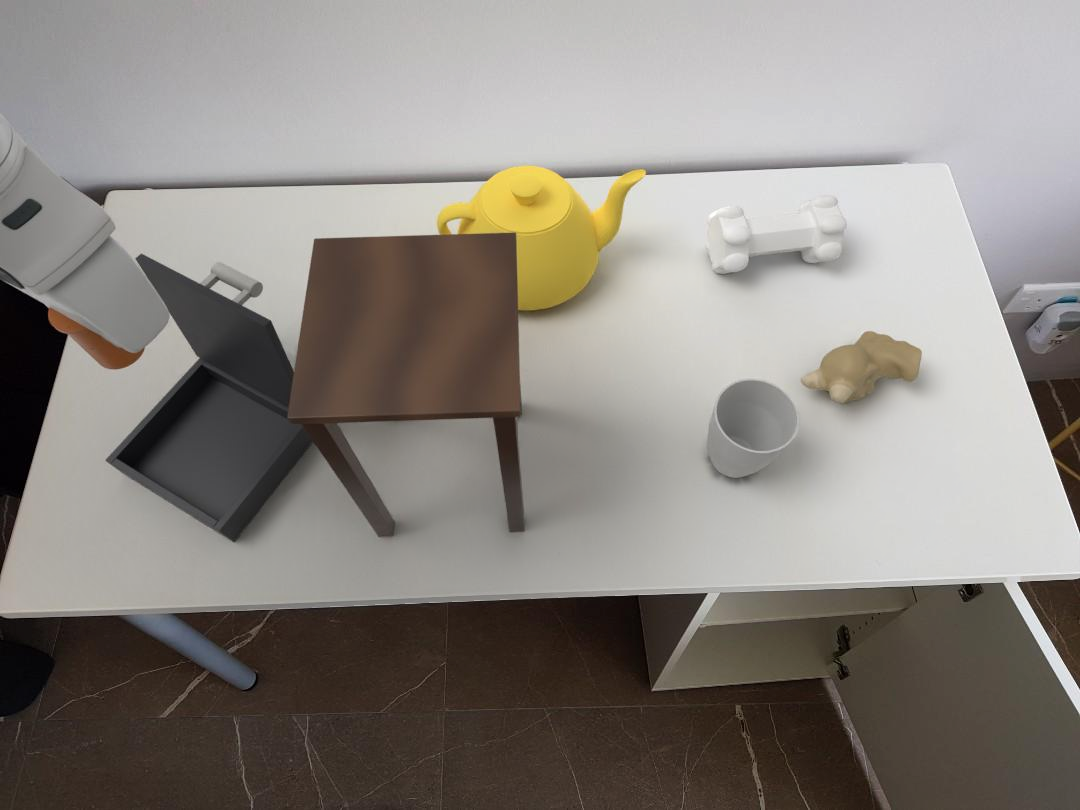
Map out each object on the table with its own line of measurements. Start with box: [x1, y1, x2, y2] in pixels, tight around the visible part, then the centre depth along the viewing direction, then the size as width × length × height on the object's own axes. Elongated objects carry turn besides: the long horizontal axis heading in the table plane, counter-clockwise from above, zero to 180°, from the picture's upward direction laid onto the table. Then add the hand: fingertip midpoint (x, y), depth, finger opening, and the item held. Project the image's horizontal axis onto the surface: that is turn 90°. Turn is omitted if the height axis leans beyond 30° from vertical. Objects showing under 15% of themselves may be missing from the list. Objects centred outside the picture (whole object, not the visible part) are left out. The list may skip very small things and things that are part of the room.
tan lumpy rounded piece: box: [800, 330, 923, 404], centre depth 78 cm, size 8×7×12 cm
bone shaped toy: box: [705, 194, 848, 275], centre depth 86 cm, size 15×9×8 cm, turn 98°
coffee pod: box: [47, 307, 146, 371], centre depth 56 cm, size 5×5×6 cm
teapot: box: [436, 165, 647, 311], centre depth 84 cm, size 25×18×14 cm
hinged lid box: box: [104, 357, 314, 543], centre depth 76 cm, size 15×16×4 cm
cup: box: [706, 378, 800, 479], centre depth 73 cm, size 8×8×10 cm
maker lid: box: [134, 253, 294, 407], centre depth 71 cm, size 15×16×5 cm
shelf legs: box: [301, 383, 526, 538], centre depth 65 cm, size 15×15×27 cm
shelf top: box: [287, 232, 522, 424], centre depth 52 cm, size 16×16×1 cm
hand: (94, 322), depth 55 cm, fingers closed on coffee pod, 4 cm apart
